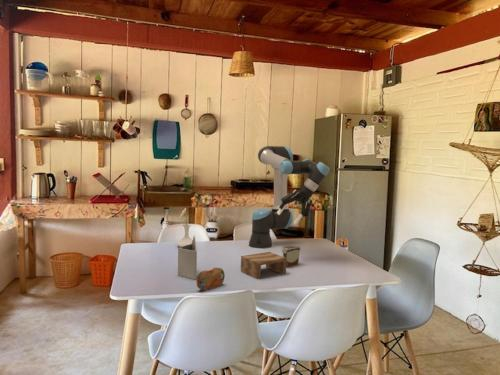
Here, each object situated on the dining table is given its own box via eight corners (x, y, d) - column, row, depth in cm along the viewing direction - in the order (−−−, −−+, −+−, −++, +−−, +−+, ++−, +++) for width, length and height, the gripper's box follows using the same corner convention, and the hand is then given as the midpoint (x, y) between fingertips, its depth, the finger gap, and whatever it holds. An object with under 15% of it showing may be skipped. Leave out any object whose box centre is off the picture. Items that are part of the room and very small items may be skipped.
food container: (291, 262, 223) (291, 244, 223) (299, 264, 219) (300, 246, 218) (276, 265, 215) (277, 247, 214) (285, 268, 210) (285, 249, 210)
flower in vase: (180, 244, 258) (181, 205, 256) (197, 245, 257) (198, 206, 254) (173, 248, 245) (174, 208, 243) (191, 250, 244) (192, 209, 241)
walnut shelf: (240, 271, 203) (241, 256, 202) (268, 266, 213) (269, 251, 212) (257, 279, 191) (257, 262, 191) (285, 273, 202) (286, 257, 201)
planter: (176, 270, 202) (177, 232, 200) (192, 269, 204) (193, 232, 202) (179, 280, 186) (179, 239, 184) (196, 279, 188) (197, 239, 187)
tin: (199, 292, 171) (200, 273, 170) (194, 290, 173) (195, 271, 172) (224, 284, 182) (225, 266, 182) (220, 283, 184) (220, 265, 184)
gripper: (296, 180, 212) (273, 212, 214) (326, 200, 224) (304, 230, 227) (290, 175, 218) (267, 206, 220) (320, 195, 231) (298, 224, 233)
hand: (286, 219), depth 224 cm, fingers open, 13 cm apart
